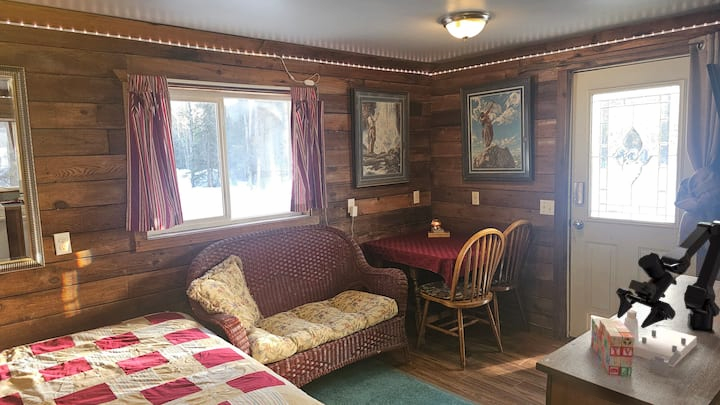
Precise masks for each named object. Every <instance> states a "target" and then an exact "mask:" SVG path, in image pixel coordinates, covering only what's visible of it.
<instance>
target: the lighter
mask: <svg viewBox="0 0 720 405" xmlns="http://www.w3.org/2000/svg"><path fill="white" fill-rule="evenodd" d="M681 355H682V353H681V352H679V351H678V350H676V352H675V353H674V354H673V355H672V357H671V358H670V359H669V361H668V360H664V357H663V356H659V355H657V356H655V357H652V358H651V360H650V374H654V375H658V376H662V377H668V376H669V374H668V373H669V372H668V371H669V366H668V363H670V364H671V365H674V364H675V362H676V361H677V360H678V359H679V357H680V356H681Z"/></svg>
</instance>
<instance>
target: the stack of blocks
mask: <svg viewBox="0 0 720 405" xmlns="http://www.w3.org/2000/svg"><path fill="white" fill-rule="evenodd" d="M590 340H591V342H590V344H591V346H592V348H593V350H594V352H595V354H596V356H597V357H598V358H599V361H600V362H601V364H602V366H603V368H604V370H605V372H606V373H607V375H608V376H616V377H629V378H631V377H632V372H633V358H634V355H633V350H634V337H633V335H632V334H631V332H630V331H629V330H628V329H627V327H626V326H625V325H624V323H623V321H622V320H613V319H612V318H598V317H592V318H591V339H590Z"/></svg>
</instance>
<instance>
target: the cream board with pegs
mask: <svg viewBox="0 0 720 405" xmlns="http://www.w3.org/2000/svg"><path fill="white" fill-rule="evenodd" d="M696 346H697V336H695V335H691V334H687V333H684V332H680V331H675V330H673V329H672V330H671V329H667V328H664V327H660V326H659V327H657V328H655V329H652V330H651V332H650V333H649V334H648V335H646V336H643V337H641V340H639V342H638V343H637V344H636V345H634V347H633V348H634V349H633V356H635V357H638V358H642V359H645V360H648V361H651V358H652V357H655V356H657V355H659V356H663V357H664V360H668V361H669V359H670V358H671V357H672V355H673V354H674V353H675V352H676V350H678V351H679V352H681V353H682V355H681V356H680V357H679V359H678V360H677V361H676V362H675V364H674V365H671V364H670V363H668V367H671V368H674V367H675V366H676V365H677V364H678V363H679V362H681V361H682V359H684V358H685V356H686V355H688V354H689V353H690V352H691V351H692V349H694V348H695V347H696Z"/></svg>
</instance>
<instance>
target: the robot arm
mask: <svg viewBox="0 0 720 405" xmlns="http://www.w3.org/2000/svg"><path fill="white" fill-rule="evenodd" d="M707 241H708V242H709V245H708V247H707V250H706V254H705V256H704V259H703V262H702V264H701V267H700V270H699V272H698V276H697V279H696V281H695V282H694V283H693V284H688V285H687V286H686V290H685V292H684V293H683V295H684V296H683V301H684V306H685V309H686V310H689V313H688V314H687V325H688V327H689V329H691V330H692V331H694V332H695V331H696V332H702V333H703V332H704V333H715V330H714V329H713V328H714V318H715V317H717V316H718V315H720V307H719V306H718V304H717V303H716V301H715V300H716V297H717V296H716V294H715V290H714V285H715V282H716V280H717V276H718V274H719V271H720V220H718V219H717V220H714V221H710V222H707V221H701V222H700V221H699V222H698V223H697V225H696V227H695V229H694V230H693V231H692V232H690V234H689V235H688V236H687V237H686V238H685V239H684V241H682V243H680V245H678V247H676V248H674V249H672V250H669V251H667V252H666V253H665V254H663V255H662V256H661V257H660V256H659V254H658V253H657V252H652V251H651V252H650V254H645V255H643V256H642V257H640V258H639V259H638V260H637V261H638V266H639V267H640V268H641V271H643V272H644V273H645V275H646V276H647V277H648V278H650V279H649V280H648V281H643V282H642V281H638V280H636V279H631V280H630V283H629V285H628V288H625V287H618V288H617V289H616V290H615V293H616V295H617V297H618V299H619V307H618V311H617V314H616V317H617V319H621V317H623V316H624V315H625V314H627V311H628V310H631V308H633V307H634V306H633V305H635V303H638V304H640V305H643V306H644V307H645V306H646V307H648V308H650V312H649V313H648V315H647V316H646V318H645V319H644V320H643V322H641V325H640V327H641V328H642V329H646V328H647V327H650V326H652V325H654V324H656V323H659V322H662V321H668V320H673V319H674V318H675V317H676V311H675V309H674V308H673V307H672V306H671V304H670V303H668V302H666V301H664V300H661V298H662V299H665V297H666V294H665V293H666V292H667V290H668V289H669V287H670V286H671V285H674V286H676V285H677V283H678V282H677V277H676V276H673V274H675V275H684V274H685V273H686V272H687V271H688V269H689V268H690V266H691V263H692V262H691V260H692V258H693V256H694V255H695V254H696V253H697V252H698V251H699V250H700V249H701V248H702V247H703V246H704V245H705V244H706V243H707ZM631 290H633V291H634V293H633V292H632V291H631Z"/></svg>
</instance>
